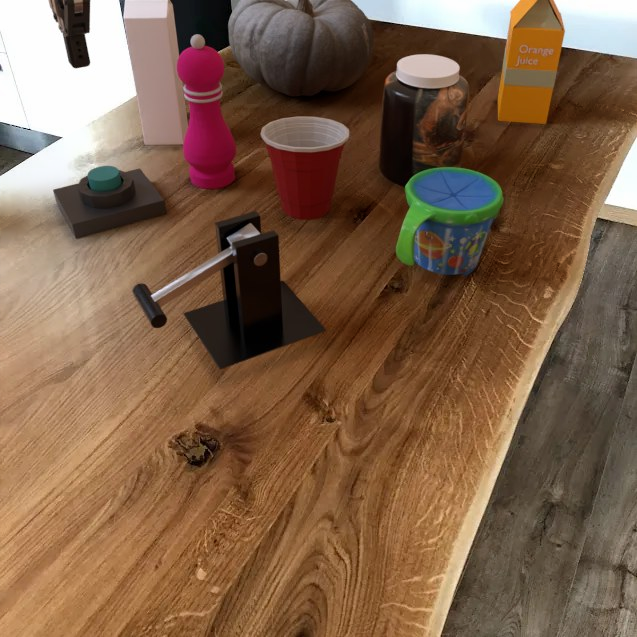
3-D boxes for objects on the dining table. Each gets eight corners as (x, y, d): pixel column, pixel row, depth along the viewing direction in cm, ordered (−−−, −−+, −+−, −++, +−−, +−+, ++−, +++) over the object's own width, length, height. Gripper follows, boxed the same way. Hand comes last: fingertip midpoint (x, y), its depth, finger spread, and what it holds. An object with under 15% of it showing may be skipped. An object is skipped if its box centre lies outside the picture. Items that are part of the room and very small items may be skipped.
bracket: (221, 378, 72) (207, 273, 64) (184, 322, 79) (168, 220, 71) (326, 339, 77) (326, 236, 68) (283, 289, 83) (279, 190, 75)
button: (95, 195, 93) (92, 183, 92) (86, 182, 95) (83, 170, 94) (125, 187, 94) (123, 175, 93) (116, 174, 97) (114, 163, 96)
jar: (365, 178, 103) (369, 73, 94) (395, 144, 111) (401, 44, 102) (445, 196, 99) (458, 88, 90) (470, 159, 107) (484, 57, 98)
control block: (75, 239, 91) (68, 211, 89) (56, 203, 98) (49, 177, 96) (167, 214, 96) (162, 187, 93) (142, 182, 103) (137, 156, 100)
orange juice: (543, 102, 123) (568, -25, 110) (546, 124, 116) (574, -8, 104) (496, 99, 124) (515, -28, 111) (496, 120, 117) (517, -11, 105)
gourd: (195, 69, 128) (204, -37, 118) (291, 55, 145) (306, -39, 135) (298, 124, 117) (319, 12, 106) (389, 102, 133) (414, 3, 123)
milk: (151, 129, 116) (126, -20, 102) (189, 128, 116) (169, -20, 102) (144, 146, 111) (118, -7, 97) (184, 145, 111) (163, -8, 98)
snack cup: (460, 223, 94) (470, 151, 87) (523, 261, 87) (539, 186, 81) (365, 265, 87) (369, 189, 80) (426, 310, 80) (434, 231, 74)
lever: (157, 334, 68) (145, 317, 66) (138, 302, 72) (127, 286, 70) (276, 259, 70) (268, 241, 68) (251, 232, 74) (243, 214, 72)
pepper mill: (225, 195, 100) (210, 47, 87) (178, 186, 102) (156, 41, 89) (246, 170, 105) (235, 28, 92) (201, 163, 107) (184, 22, 94)
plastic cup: (355, 198, 99) (357, 114, 91) (338, 241, 91) (340, 153, 83) (277, 189, 101) (274, 106, 93) (255, 231, 93) (248, 143, 85)
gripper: (-4, -108, 79) (35, 53, 90) (22, -84, 70) (62, 91, 81) (66, -113, 82) (96, 43, 93) (99, -92, 73) (127, 78, 84)
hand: (80, 65), depth 87 cm, fingers closed
